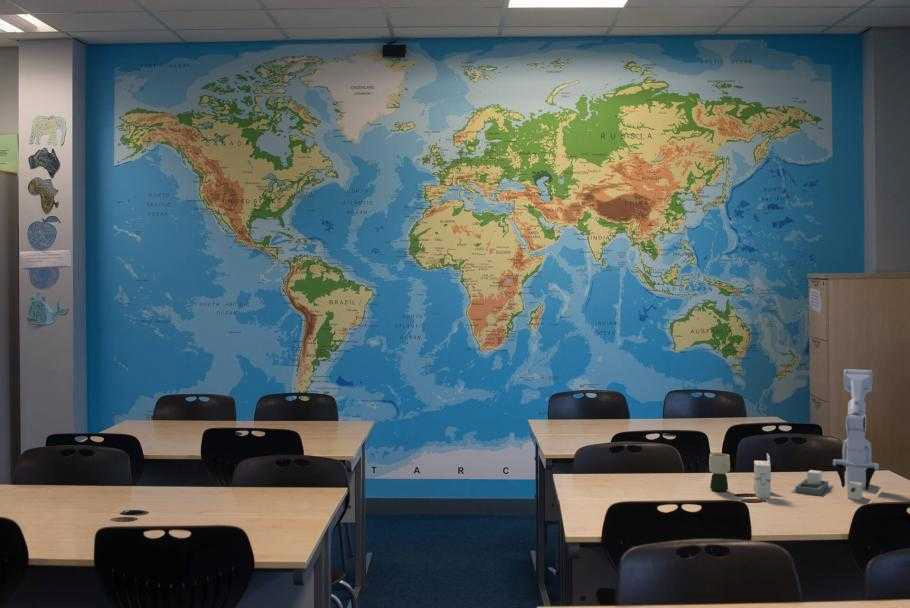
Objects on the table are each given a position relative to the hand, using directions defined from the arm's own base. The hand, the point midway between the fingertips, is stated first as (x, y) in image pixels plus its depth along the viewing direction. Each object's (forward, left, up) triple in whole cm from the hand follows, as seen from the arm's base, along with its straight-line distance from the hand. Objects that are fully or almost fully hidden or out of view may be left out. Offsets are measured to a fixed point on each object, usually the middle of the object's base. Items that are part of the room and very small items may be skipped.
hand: (855, 487), depth 316 cm
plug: (+1, 0, -5) cm, 5 cm away
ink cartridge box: (+11, -29, -5) cm, 31 cm away
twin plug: (-9, -15, -3) cm, 18 cm away
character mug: (+12, -44, -5) cm, 46 cm away
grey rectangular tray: (-5, -15, -4) cm, 16 cm away
